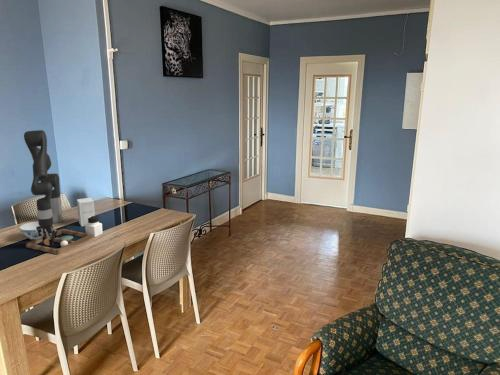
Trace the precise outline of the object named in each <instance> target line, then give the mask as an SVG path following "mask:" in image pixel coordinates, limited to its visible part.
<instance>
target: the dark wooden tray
mask: <svg viewBox="0 0 500 375" xmlns="http://www.w3.org/2000/svg"><path fill="white" fill-rule="evenodd" d="M49 234H51V233H49ZM62 234H65V235H68V236H73V237H74V236H75V237H78V238H79V237H80V238H79V239H77V240H72V239H71V240H66V239H61V238H60V237H56V238H54V239H53V240H54V243H57V244H60V243H61V242H62V241H64V240H65V241H67V242H68V245H66V246H63V247H59V248H55V247H51V246H50V247H49V246H46V245H40V244H41V243H43V240H42V238H41V237H40V238H38V239H32V240H30V241H28V242H25V243H24V244H25V248H28V249H32V250H36V251H42V252H45V253H50V254H54V255H59V254H61V253H64V252H66V251H68V250H70V249H73V248H74V247H76V246H78V245H81V244H83V243H85V242H88V241H90V240H91V239H93V237H92V234H87V233H86V232H82V231H77V230H71V229H66V228H61V229H57V236H58V235H59V236H60V235H62ZM46 237H47V238H49V237H48V236H46ZM50 237H51V235H50Z"/></svg>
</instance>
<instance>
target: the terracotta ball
mask: <svg viewBox="0 0 500 375" xmlns="http://www.w3.org/2000/svg"><path fill="white" fill-rule="evenodd" d="M43 245H44V246H50V244H49V238H46V239H45V240H44V244H43Z"/></svg>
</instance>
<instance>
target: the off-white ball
mask: <svg viewBox="0 0 500 375" xmlns="http://www.w3.org/2000/svg"><path fill="white" fill-rule="evenodd" d="M59 244H60V246H61V247H63V246H66V245H68V242H67V241H65V240H64V241H62V242H61V243H59ZM61 247H60V248H61Z"/></svg>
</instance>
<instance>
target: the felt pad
mask: <svg viewBox="0 0 500 375" xmlns="http://www.w3.org/2000/svg"><path fill="white" fill-rule="evenodd" d="M59 238H61V239H66V240H71V241H72V239H74V235H63V236H60V237H59Z"/></svg>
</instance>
